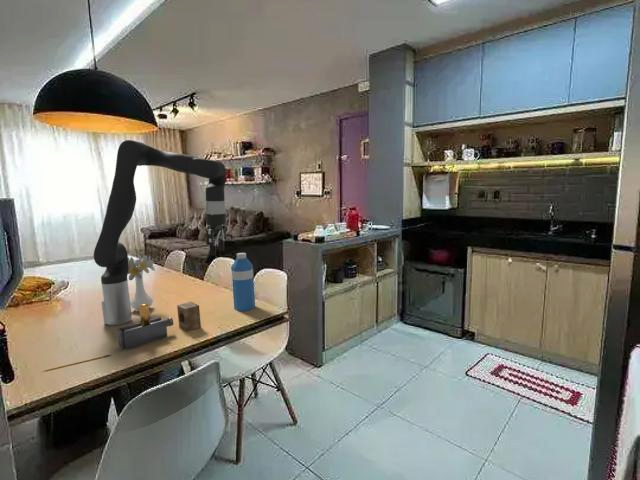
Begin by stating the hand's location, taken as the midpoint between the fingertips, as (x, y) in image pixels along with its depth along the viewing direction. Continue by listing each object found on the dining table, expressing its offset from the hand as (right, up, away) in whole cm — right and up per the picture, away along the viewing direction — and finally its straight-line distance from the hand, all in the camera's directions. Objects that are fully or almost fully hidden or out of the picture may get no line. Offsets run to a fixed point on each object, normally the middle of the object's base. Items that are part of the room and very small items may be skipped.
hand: (217, 252), depth 138 cm
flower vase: (-40, -27, +20) cm, 52 cm away
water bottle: (+7, -26, +18) cm, 32 cm away
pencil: (-35, -34, -29) cm, 57 cm away
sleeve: (-22, -31, -15) cm, 41 cm away
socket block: (-10, -29, -3) cm, 31 cm away
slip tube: (-20, -28, -14) cm, 37 cm away
